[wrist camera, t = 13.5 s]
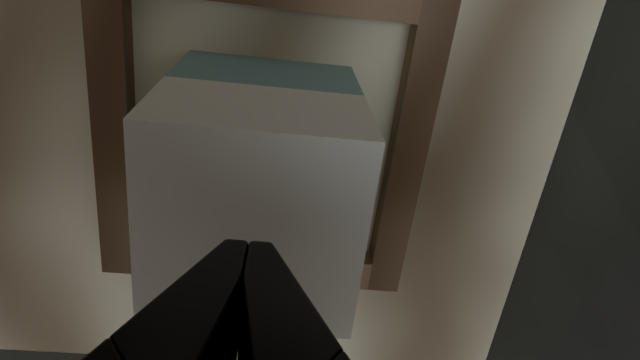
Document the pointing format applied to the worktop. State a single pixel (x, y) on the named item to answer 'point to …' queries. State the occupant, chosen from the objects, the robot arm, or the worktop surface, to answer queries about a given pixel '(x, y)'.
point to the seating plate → (387, 108)
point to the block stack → (254, 173)
